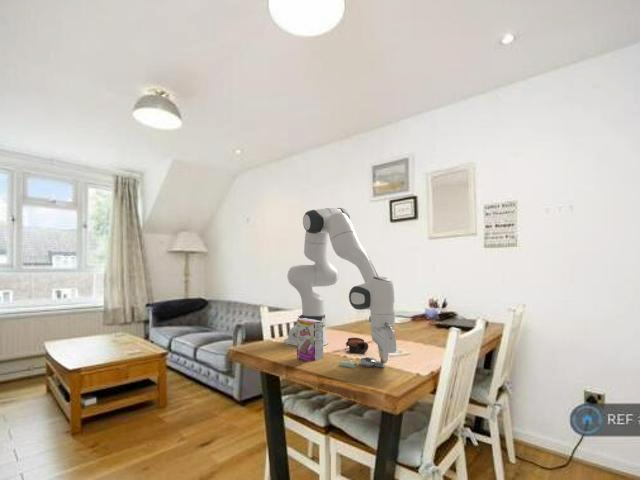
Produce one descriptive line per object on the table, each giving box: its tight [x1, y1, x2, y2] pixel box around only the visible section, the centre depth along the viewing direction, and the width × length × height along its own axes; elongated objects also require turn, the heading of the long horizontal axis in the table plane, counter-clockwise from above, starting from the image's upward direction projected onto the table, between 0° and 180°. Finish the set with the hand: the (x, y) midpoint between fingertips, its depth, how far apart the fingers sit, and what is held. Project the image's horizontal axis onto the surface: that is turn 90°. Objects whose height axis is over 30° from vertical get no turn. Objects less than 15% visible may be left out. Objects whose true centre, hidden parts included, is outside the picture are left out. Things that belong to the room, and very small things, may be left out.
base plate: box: [339, 360, 358, 369], centre depth 122 cm, size 22×19×4 cm
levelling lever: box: [359, 349, 388, 368], centre depth 121 cm, size 10×6×6 cm, turn 59°
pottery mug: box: [345, 337, 369, 355], centre depth 142 cm, size 12×10×8 cm
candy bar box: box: [296, 318, 324, 363], centre depth 134 cm, size 11×5×16 cm, turn 44°
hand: (383, 359), depth 119 cm, fingers closed on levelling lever, 2 cm apart
